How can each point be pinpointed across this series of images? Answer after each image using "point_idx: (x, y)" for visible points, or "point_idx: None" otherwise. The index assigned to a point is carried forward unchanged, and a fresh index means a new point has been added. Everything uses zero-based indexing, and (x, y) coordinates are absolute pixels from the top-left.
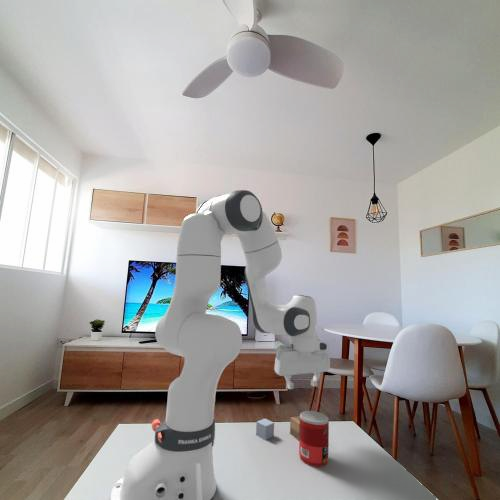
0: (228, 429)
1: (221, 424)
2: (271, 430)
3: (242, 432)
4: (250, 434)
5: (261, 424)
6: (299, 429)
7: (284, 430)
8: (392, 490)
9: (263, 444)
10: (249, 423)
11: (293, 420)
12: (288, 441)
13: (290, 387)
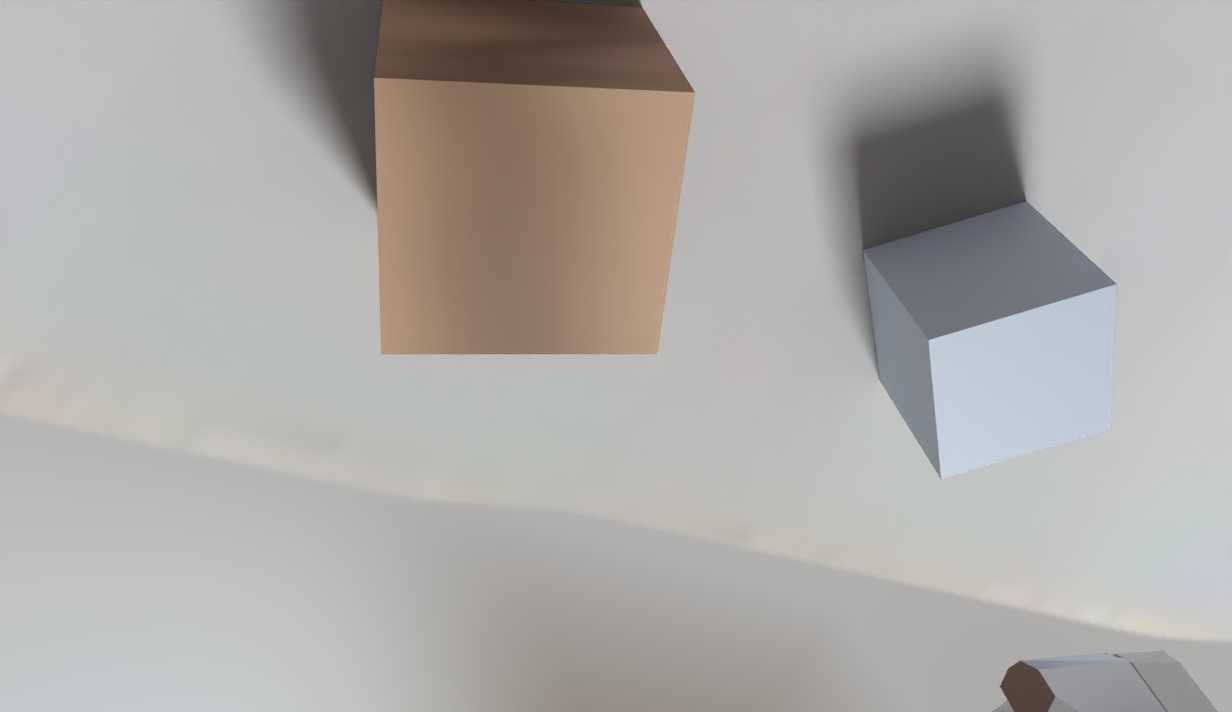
0: (1179, 509)
1: (1157, 603)
2: (946, 275)
3: None
4: None
5: (1111, 352)
6: (668, 58)
7: None
8: None
9: (1126, 116)
10: (901, 564)
11: (666, 263)
12: (788, 58)
13: (1178, 686)
